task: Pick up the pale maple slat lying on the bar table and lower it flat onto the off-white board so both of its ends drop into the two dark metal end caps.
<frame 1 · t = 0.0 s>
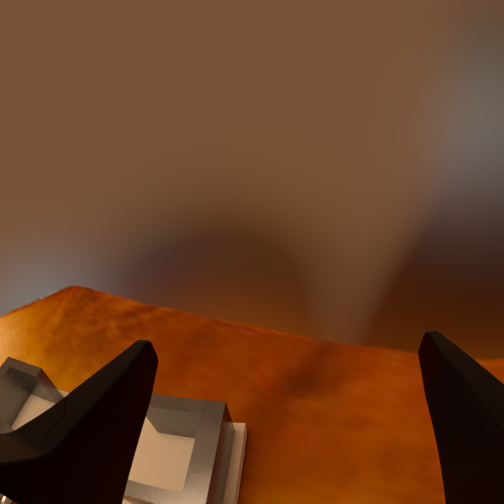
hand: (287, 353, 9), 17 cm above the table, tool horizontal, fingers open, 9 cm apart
end-cap board: (97, 451, 19), on the table
end caps: (77, 432, 17), on the end-cap board, point 4 cm above the table
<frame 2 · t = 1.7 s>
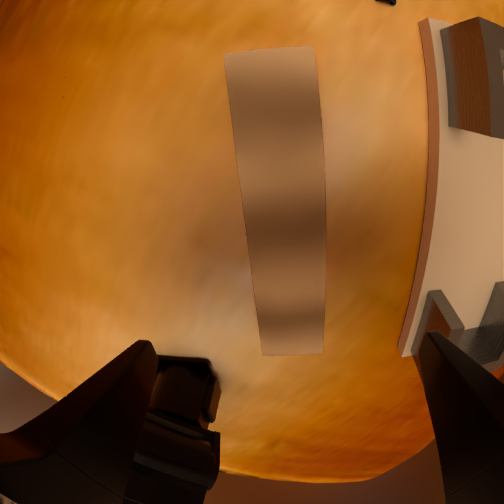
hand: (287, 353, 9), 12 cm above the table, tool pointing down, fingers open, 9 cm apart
end-cap board: (476, 208, 17), on the table
end caps: (503, 228, 14), on the end-cap board, point 4 cm above the table
maple slat: (285, 210, 19), on the table
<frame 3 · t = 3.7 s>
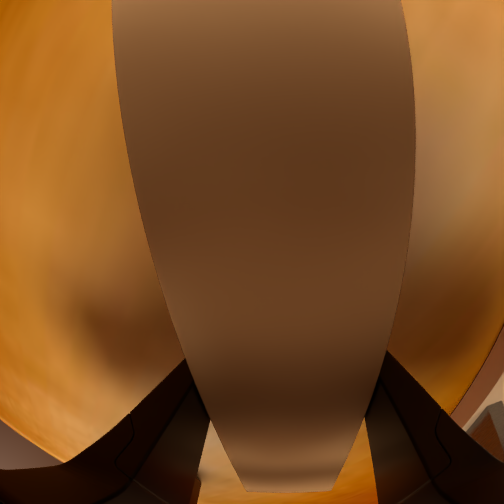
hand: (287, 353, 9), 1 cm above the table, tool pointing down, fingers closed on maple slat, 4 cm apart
maple slat: (287, 317, 10), on the table, touching gripper
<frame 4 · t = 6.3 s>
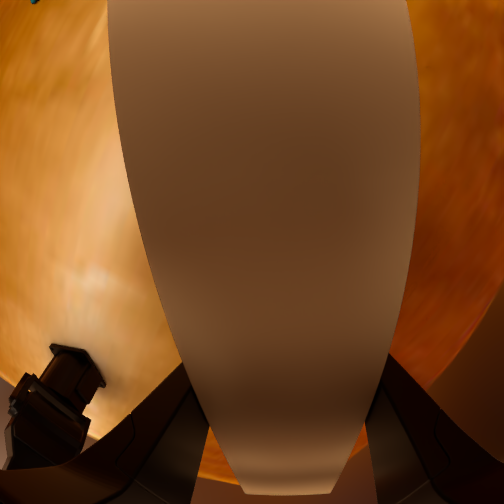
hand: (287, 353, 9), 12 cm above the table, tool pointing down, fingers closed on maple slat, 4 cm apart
maple slat: (287, 320, 10), point 10 cm above the table, touching gripper
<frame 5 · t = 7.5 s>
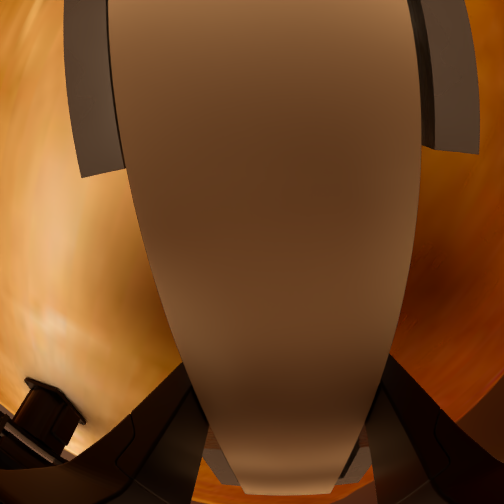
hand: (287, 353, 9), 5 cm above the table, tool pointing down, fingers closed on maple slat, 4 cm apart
end caps: (290, 323, 10), on the end-cap board, point 4 cm above the table
maple slat: (287, 320, 10), point 4 cm above the table, touching gripper
when the fingers open (4 cm above the table, at t = 8.5 s): maple slat drops 1 cm, resting on end-cap board.
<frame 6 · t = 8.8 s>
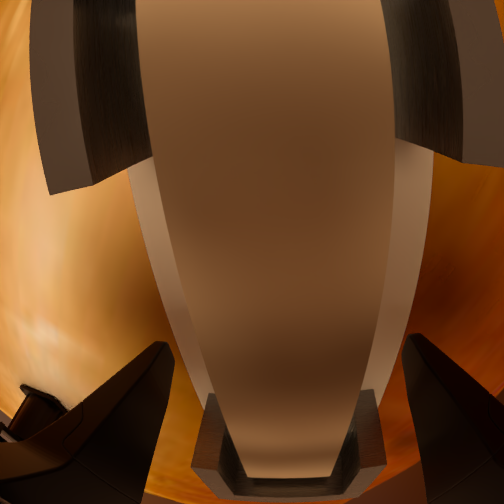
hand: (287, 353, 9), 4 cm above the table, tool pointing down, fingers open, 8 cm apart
end-cap board: (288, 281, 12), on the table
end caps: (288, 347, 9), on the end-cap board, point 4 cm above the table
maple slat: (287, 300, 11), point 1 cm above the table, touching end-cap board
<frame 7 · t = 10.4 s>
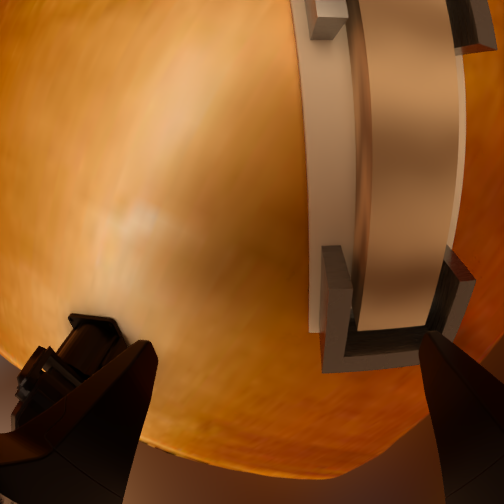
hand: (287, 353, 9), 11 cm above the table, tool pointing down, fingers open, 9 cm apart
end-cap board: (386, 143, 15), on the table
end caps: (409, 154, 12), on the end-cap board, point 4 cm above the table
maple slat: (393, 144, 14), point 1 cm above the table, touching end-cap board
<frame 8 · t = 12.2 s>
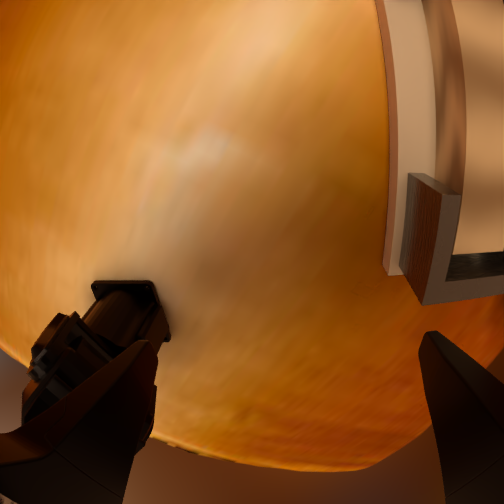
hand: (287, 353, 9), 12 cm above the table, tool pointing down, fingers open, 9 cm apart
end-cap board: (451, 86, 13), on the table
end caps: (482, 85, 10), on the end-cap board, point 4 cm above the table
maple slat: (461, 83, 12), point 1 cm above the table, touching end-cap board
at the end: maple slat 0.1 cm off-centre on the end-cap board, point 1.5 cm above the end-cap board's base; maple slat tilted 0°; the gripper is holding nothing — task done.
